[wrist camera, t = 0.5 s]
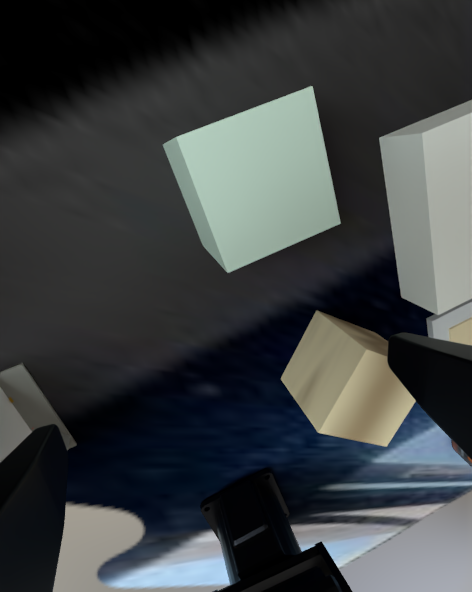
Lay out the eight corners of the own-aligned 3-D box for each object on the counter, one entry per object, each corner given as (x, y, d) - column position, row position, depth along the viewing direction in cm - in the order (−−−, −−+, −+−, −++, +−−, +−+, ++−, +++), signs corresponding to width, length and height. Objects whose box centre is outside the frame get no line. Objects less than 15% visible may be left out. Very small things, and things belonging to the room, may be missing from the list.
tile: (503, 352, 33) (512, 356, 32) (433, 389, 32) (440, 394, 31) (504, 279, 30) (513, 282, 29) (426, 318, 28) (434, 322, 28)
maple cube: (374, 332, 28) (433, 373, 22) (338, 393, 29) (386, 446, 23) (316, 309, 25) (366, 349, 20) (280, 378, 27) (318, 432, 21)
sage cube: (289, 208, 22) (340, 223, 17) (202, 245, 21) (227, 273, 16) (261, 107, 19) (312, 85, 14) (162, 144, 19) (176, 136, 13)
